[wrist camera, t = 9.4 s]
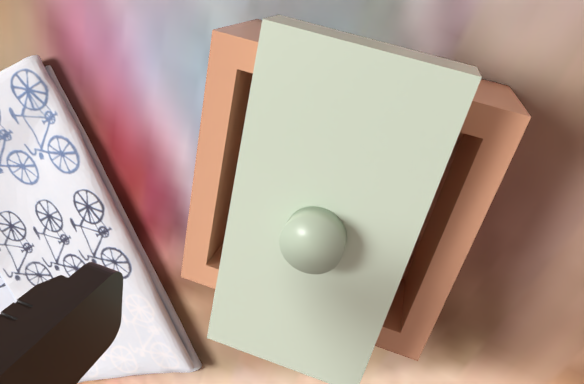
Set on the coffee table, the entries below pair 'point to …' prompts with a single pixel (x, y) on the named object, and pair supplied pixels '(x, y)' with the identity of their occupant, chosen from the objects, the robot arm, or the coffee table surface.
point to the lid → (331, 192)
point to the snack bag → (75, 223)
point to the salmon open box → (440, 218)
